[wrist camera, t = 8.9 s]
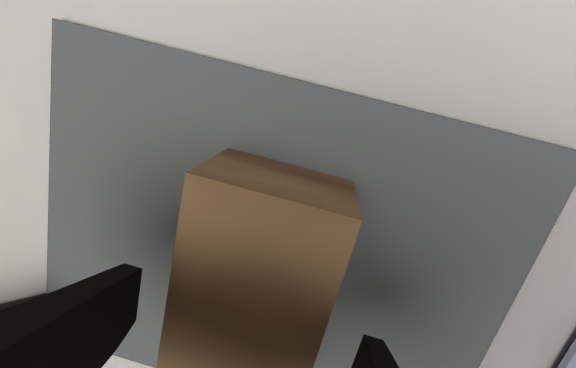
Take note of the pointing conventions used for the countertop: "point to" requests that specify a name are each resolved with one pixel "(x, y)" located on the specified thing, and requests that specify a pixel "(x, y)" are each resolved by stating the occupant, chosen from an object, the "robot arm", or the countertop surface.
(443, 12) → the countertop surface
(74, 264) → the mat
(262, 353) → the card box
